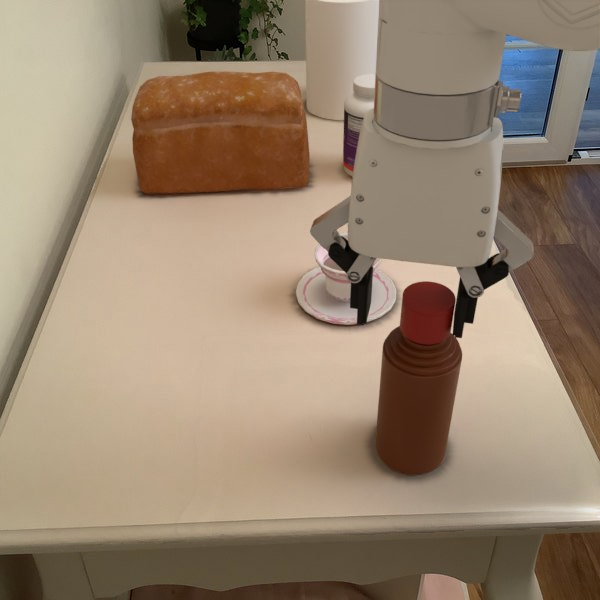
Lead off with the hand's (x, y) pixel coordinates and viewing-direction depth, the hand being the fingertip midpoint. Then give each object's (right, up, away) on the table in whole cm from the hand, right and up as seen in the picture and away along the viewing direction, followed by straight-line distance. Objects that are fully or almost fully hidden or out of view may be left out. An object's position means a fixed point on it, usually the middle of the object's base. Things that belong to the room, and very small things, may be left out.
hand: (410, 318), depth 53 cm
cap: (+1, -1, 0) cm, 1 cm away
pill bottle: (+2, +22, +52) cm, 57 cm away
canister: (-1, +38, +74) cm, 83 cm away
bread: (-20, +21, +52) cm, 60 cm away
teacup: (-3, +2, +27) cm, 27 cm away
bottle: (+1, -12, +9) cm, 15 cm away
